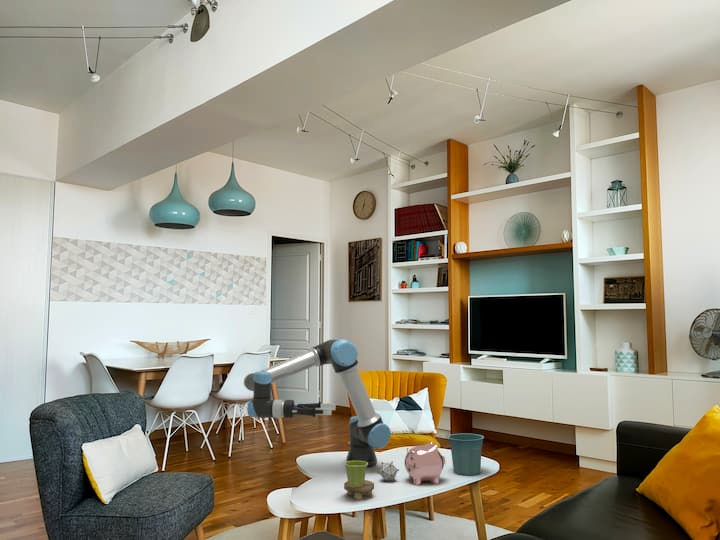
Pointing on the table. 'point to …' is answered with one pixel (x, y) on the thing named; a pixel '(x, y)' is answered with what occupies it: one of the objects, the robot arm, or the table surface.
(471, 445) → the flower pot
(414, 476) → the piggy bank
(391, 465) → the game die
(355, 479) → the plant pot
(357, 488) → the stand
